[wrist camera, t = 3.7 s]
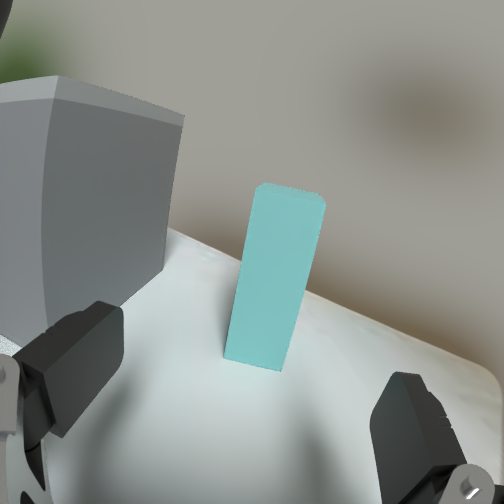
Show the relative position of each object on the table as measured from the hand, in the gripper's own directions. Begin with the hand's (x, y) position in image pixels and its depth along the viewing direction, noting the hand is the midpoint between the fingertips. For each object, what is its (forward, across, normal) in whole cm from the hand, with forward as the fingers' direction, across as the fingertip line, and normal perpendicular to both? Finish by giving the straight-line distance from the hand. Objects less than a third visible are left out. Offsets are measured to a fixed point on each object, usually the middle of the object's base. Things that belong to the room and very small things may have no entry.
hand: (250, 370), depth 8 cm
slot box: (+11, +16, +6) cm, 20 cm away
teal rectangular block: (+11, 0, +6) cm, 12 cm away
